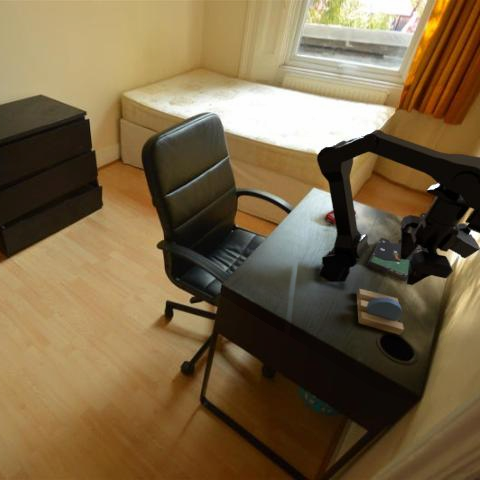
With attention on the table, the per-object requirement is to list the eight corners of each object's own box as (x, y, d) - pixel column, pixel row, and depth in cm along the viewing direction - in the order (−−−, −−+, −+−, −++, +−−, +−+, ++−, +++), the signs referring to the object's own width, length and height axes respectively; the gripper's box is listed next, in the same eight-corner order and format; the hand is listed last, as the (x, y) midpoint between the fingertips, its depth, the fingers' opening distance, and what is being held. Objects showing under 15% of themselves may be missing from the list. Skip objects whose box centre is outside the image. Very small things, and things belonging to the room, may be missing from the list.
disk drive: (376, 243, 108) (365, 267, 99) (380, 236, 106) (369, 260, 97) (413, 257, 103) (404, 283, 94) (417, 250, 101) (409, 276, 92)
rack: (357, 325, 83) (362, 317, 81) (355, 295, 90) (359, 288, 88) (398, 337, 80) (404, 329, 78) (392, 305, 87) (397, 298, 86)
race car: (343, 209, 123) (347, 200, 121) (357, 216, 119) (361, 207, 117) (320, 219, 118) (324, 210, 115) (334, 227, 114) (338, 218, 111)
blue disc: (362, 317, 83) (374, 298, 79) (362, 312, 84) (373, 293, 80) (394, 326, 81) (407, 307, 77) (393, 321, 82) (406, 302, 78)
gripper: (506, 255, 60) (456, 310, 70) (474, 203, 74) (436, 255, 84) (435, 240, 63) (397, 294, 73) (416, 193, 77) (386, 244, 87)
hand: (406, 271), depth 79 cm, fingers open, 9 cm apart
